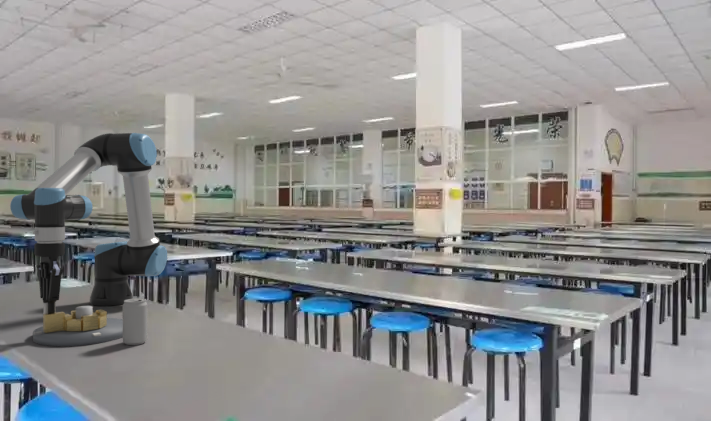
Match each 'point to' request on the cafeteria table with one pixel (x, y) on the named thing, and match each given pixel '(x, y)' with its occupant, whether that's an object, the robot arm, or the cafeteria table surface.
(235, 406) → the cafeteria table surface
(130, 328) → the beverage can
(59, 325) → the ring nut
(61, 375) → the cafeteria table surface
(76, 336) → the flange
